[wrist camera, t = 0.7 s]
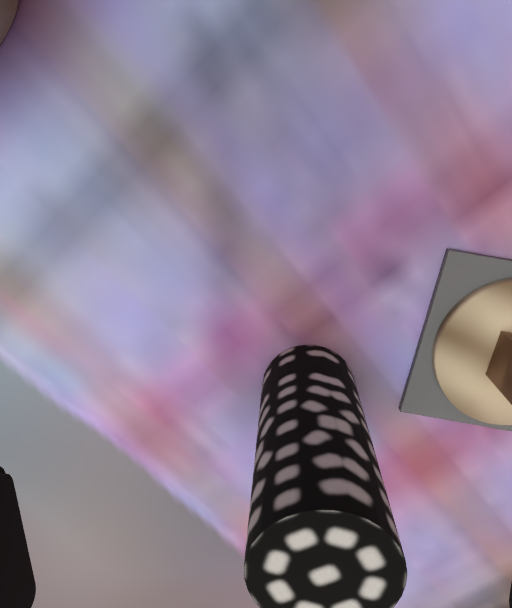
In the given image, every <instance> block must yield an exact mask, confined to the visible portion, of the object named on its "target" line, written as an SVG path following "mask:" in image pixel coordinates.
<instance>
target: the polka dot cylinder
mask: <svg viewBox="0 0 512 608" xmlns="http://www.w3.org/2000/svg"><path fill="white" fill-rule="evenodd" d="M244 578H245V582H246V585H247V588H248V591H249V593H250V595H251V596H252V598H253V600H254V601H255V602H256V603H257V605H258V606H259V607H260V608H394V606H395V605H396V604H397V602H398V601H399V599H400V598H401V596H402V594H403V591H404V588H405V586H406V579H407V568H406V561H405V557H404V554H403V550H402V547H401V543H400V540H399V536H398V532H397V529H396V525H395V522H394V518H393V515H392V511H391V508H390V504H389V501H388V497H387V494H386V490H385V487H384V483H383V480H382V476H381V473H380V469H379V466H378V462H377V459H376V455H375V451H374V448H373V444H372V441H371V437H370V434H369V430H368V427H367V423H366V420H365V416H364V413H363V409H362V406H361V402H360V399H359V395H358V392H357V388H356V385H355V381H354V378H353V375H352V372H351V370H350V368H349V366H348V365H347V363H346V362H345V361H344V360H343V359H342V358H341V357H340V356H339V355H338V354H336V353H335V352H333V351H331V350H329V349H326V348H324V347H320V346H314V345H303V346H297V347H293V348H291V349H288V350H286V351H284V352H283V353H281V354H279V355H278V356H277V357H276V358H275V359H274V360H273V361H272V362H271V363H270V365H269V366H268V368H267V370H266V372H265V374H264V379H263V384H262V394H261V404H260V414H259V424H258V434H257V443H256V453H255V463H254V473H253V483H252V493H251V503H250V513H249V523H248V532H247V542H246V552H245V562H244Z"/></svg>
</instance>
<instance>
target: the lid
mask: <svg viewBox="0 0 512 608" xmlns="http://www.w3.org/2000/svg"><path fill="white" fill-rule="evenodd" d="M432 365H433V370H434V374H435V377H436V380H437V382H438V384H439V386H440V387H441V389H442V391H443V392H444V394H445V395H446V397H447V398H448V399H449V401H450V402H451V403H452V404H453V405H454V406H455V407H456V408H457V409H458V410H460V411H461V412H463V413H464V414H466V415H468V416H470V417H471V418H473V419H476V420H479V421H481V422H485V423H490V424H496V425H512V278H508V279H503V280H499V281H495V282H492V283H489V284H487V285H484V286H482V287H480V288H478V289H476V290H474V291H473V292H471V293H470V294H468V295H467V296H465V297H464V298H463V299H462V300H460V301H459V302H458V303H457V304H456V305H455V306H454V307H453V308H452V309H451V310H450V311H449V313H448V314H447V315H446V317H445V318H444V320H443V321H442V323H441V325H440V327H439V329H438V331H437V334H436V336H435V339H434V344H433V349H432Z"/></svg>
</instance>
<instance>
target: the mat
mask: <svg viewBox="0 0 512 608" xmlns="http://www.w3.org/2000/svg"><path fill="white" fill-rule="evenodd" d="M508 278H512V260H509V259H503V258H497V257H491V256H486V255H480V254H474V253H468V252H463V251H457V250H451V249H447V250H446V253H445V256H444V260H443V263H442V266H441V270H440V273H439V276H438V280H437V283H436V286H435V290H434V293H433V296H432V300H431V303H430V306H429V309H428V313H427V316H426V319H425V323H424V326H423V329H422V333H421V336H420V339H419V343H418V346H417V349H416V353H415V356H414V359H413V363H412V366H411V369H410V373H409V376H408V379H407V382H406V386H405V389H404V392H403V396H402V399H401V402H400V406H399V410H400V412H406V413H412V414H417V415H423V416H429V417H434V418H440V419H446V420H451V421H457V422H463V423H468V424H474V425H480V426H485V427H491V428H496V429H502V430H508V431H512V425H496V424H490V423H485V422H481V421H479V420H476V419H473V418H471V417H470V416H468V415H466V414H464V413H463V412H461V411H460V410H458V409H457V408H456V407H455V406H454V405H453V404H452V403H451V402H450V401H449V399H448V398H447V397H446V395H445V394H444V392H443V391H442V389H441V387H440V386H439V384H438V382H437V380H436V377H435V374H434V370H433V365H432V349H433V344H434V339H435V336H436V334H437V331H438V329H439V327H440V325H441V323H442V321H443V320H444V318H445V317H446V315H447V314H448V313H449V311H450V310H451V309H452V308H453V307H454V306H455V305H456V304H457V303H458V302H459V301H460V300H462V299H463V298H464V297H465V296H467V295H468V294H470V293H471V292H473V291H474V290H476V289H478V288H480V287H482V286H484V285H487V284H489V283H492V282H495V281H499V280H503V279H508Z"/></svg>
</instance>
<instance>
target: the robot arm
mask: <svg viewBox="0 0 512 608" xmlns="http://www.w3.org/2000/svg"><path fill="white" fill-rule="evenodd" d="M35 592H36V586H35V580H34V575H33V571H32V566H31V561H30V557H29V552H28V548H27V543H26V539H25V534H24V529H23V525H22V520H21V515H20V510H19V506H18V501H17V497H16V492H15V488H14V483H13V479H12V477H11V476H10V475H9V474H6V473H5V471H4V469H3V468H2V467H0V608H31V607H32V604H33V601H34V598H35ZM509 605H510V608H512V583H511V590H510V597H509Z"/></svg>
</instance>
